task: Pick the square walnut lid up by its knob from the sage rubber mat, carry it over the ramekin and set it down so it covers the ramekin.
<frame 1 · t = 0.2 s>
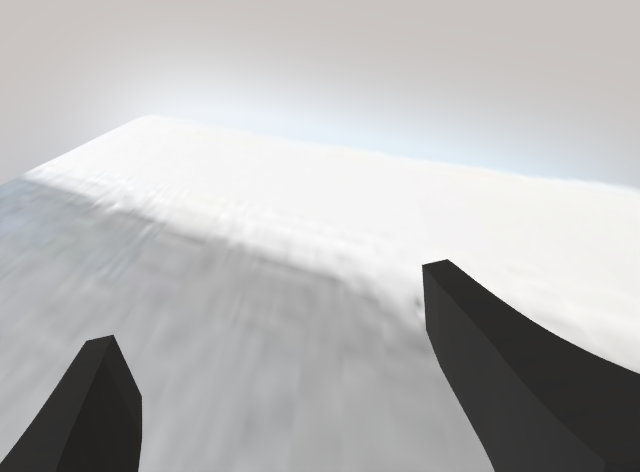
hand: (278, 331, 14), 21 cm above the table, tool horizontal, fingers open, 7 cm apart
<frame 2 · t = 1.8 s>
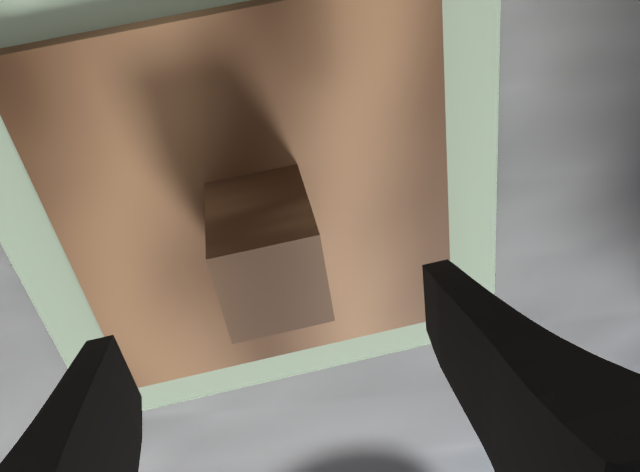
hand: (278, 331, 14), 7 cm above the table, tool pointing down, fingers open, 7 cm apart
mat: (257, 195, 20), on the table
lid: (258, 201, 19), resting on mat
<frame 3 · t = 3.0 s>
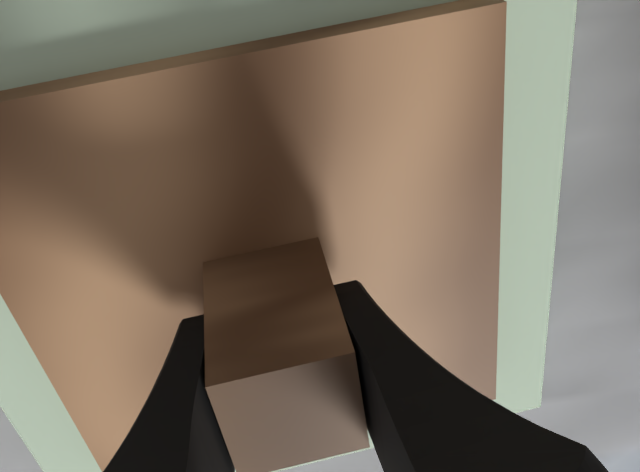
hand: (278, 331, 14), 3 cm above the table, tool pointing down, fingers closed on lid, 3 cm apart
mat: (267, 267, 16), on the table
lid: (268, 276, 16), resting on mat, touching gripper
when the fingers open (8 cm above the table, at t = 6.5 s): lid drops 1 cm, resting on ramekin.
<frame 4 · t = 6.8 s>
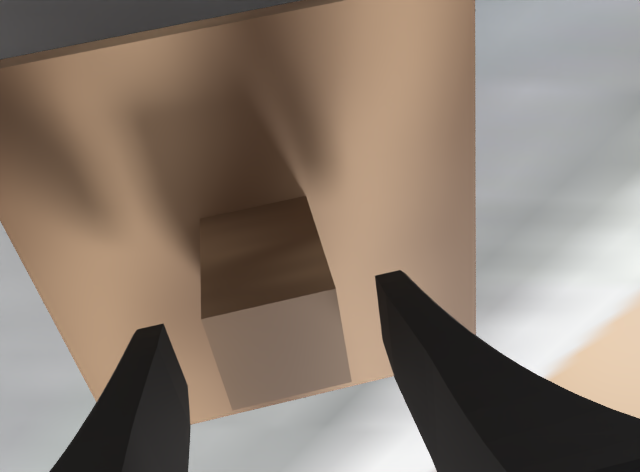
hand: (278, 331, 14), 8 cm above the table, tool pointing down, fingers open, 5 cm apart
lid: (261, 235, 17), point 4 cm above the table, touching ramekin
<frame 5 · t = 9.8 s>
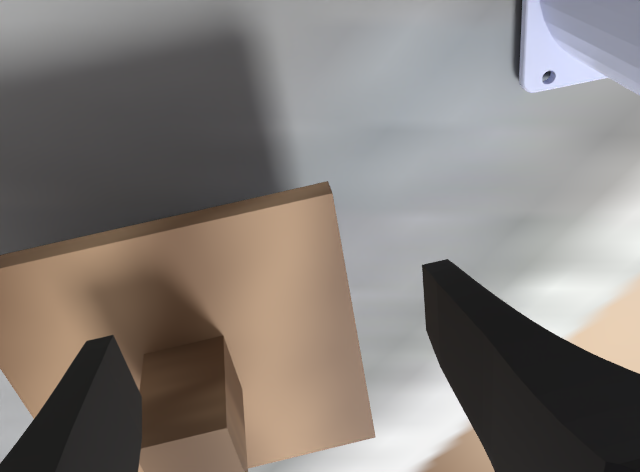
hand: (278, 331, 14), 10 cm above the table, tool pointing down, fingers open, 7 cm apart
lid: (195, 356, 22), point 4 cm above the table, touching ramekin
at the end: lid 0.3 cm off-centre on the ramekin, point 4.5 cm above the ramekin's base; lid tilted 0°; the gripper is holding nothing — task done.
